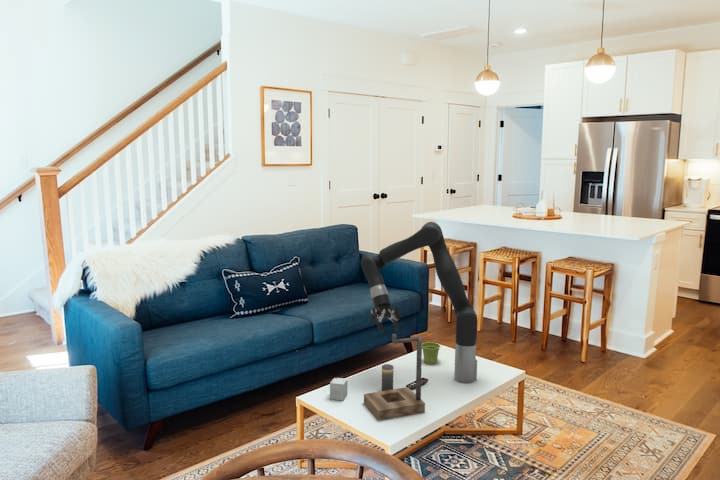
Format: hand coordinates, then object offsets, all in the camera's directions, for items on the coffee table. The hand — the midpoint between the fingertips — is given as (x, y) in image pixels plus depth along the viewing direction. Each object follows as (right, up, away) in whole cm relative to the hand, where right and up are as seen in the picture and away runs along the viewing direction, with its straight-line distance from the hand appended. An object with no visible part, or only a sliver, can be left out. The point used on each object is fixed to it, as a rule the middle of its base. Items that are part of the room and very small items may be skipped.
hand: (389, 330), depth 242 cm
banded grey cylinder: (-1, -26, -2) cm, 26 cm away
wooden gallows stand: (+1, -28, -18) cm, 34 cm away
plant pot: (+22, -21, +31) cm, 43 cm away
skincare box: (-22, -27, -9) cm, 36 cm away
